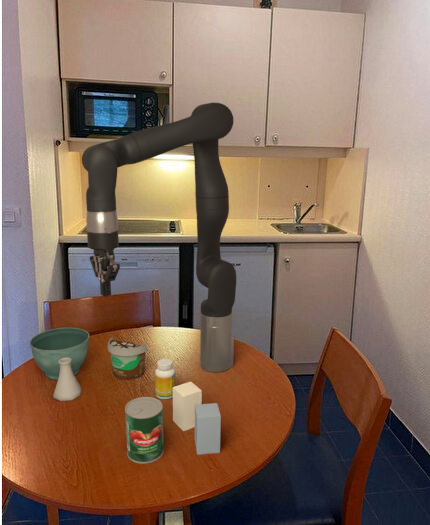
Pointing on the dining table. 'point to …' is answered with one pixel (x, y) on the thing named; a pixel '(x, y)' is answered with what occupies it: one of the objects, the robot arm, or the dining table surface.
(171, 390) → the supplement bottle
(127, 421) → the canned tomato
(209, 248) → the robot arm
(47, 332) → the flower pot
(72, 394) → the flask
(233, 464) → the dining table surface
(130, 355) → the food container
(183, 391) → the cream block
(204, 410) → the slate-blue block
